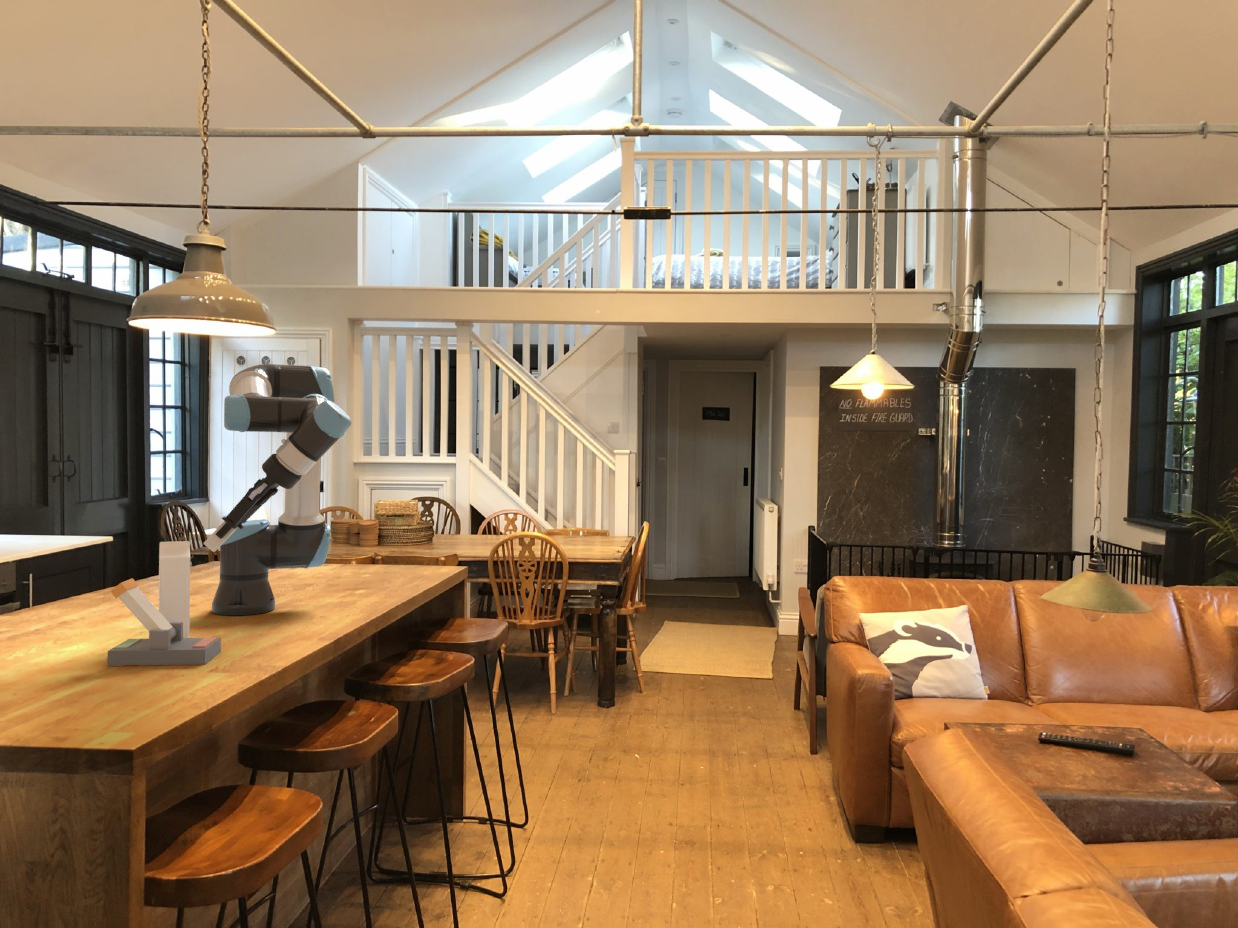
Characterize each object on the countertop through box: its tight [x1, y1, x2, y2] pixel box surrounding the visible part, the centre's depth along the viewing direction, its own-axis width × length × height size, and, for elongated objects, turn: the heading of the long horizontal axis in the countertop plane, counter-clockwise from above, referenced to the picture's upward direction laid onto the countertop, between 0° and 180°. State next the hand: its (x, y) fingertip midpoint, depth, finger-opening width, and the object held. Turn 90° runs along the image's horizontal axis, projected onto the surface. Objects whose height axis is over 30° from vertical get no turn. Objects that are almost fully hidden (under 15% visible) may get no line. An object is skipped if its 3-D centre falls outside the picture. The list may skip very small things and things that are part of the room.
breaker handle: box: [109, 578, 177, 639], centre depth 170 cm, size 3×6×15 cm
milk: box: [158, 540, 191, 638], centre depth 185 cm, size 6×6×22 cm
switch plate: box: [107, 622, 222, 667], centre depth 170 cm, size 18×10×7 cm, turn 99°
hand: (209, 547), depth 173 cm, fingers closed
